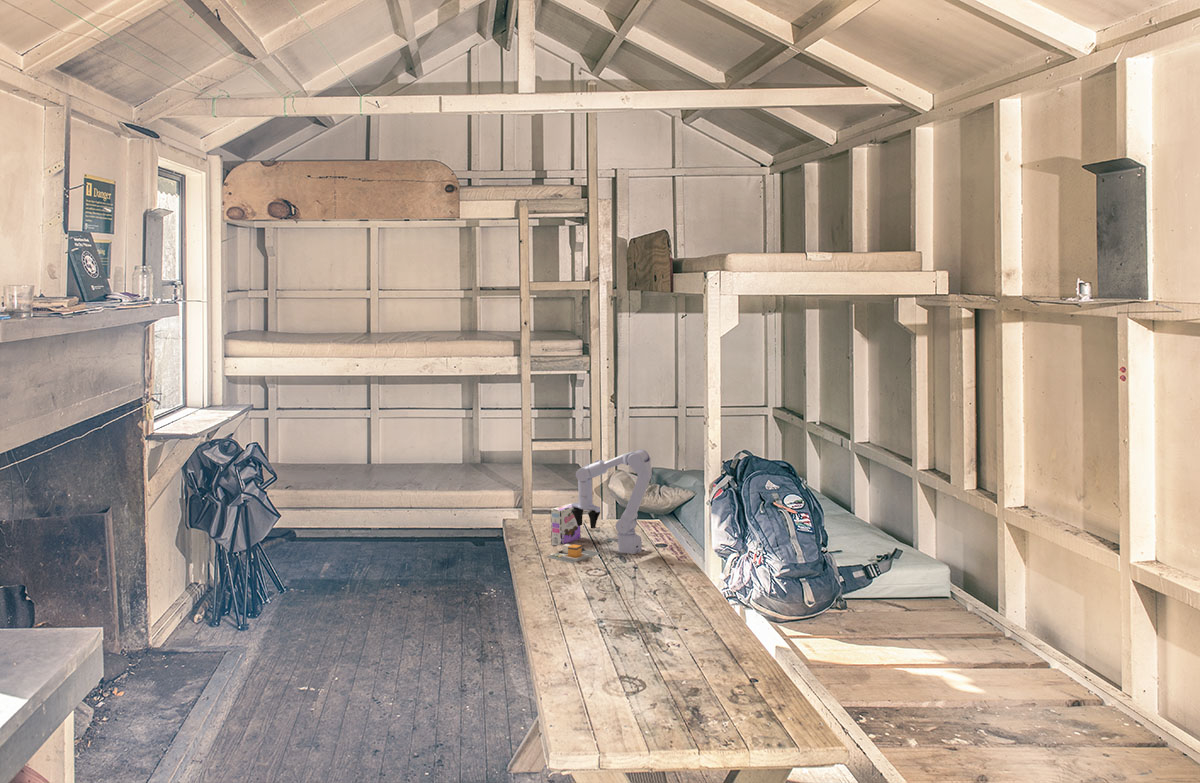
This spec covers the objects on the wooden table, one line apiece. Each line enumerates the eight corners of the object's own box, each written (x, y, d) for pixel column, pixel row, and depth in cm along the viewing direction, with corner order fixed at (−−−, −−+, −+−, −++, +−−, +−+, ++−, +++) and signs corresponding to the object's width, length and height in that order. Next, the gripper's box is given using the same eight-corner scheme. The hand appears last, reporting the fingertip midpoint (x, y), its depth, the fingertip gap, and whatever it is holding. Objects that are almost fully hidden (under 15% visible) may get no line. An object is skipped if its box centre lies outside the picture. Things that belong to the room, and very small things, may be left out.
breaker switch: (572, 552, 388) (572, 545, 387) (568, 553, 386) (568, 546, 386) (566, 550, 390) (566, 543, 390) (562, 552, 388) (562, 545, 388)
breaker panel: (602, 556, 386) (602, 550, 386) (572, 566, 372) (572, 560, 372) (575, 550, 396) (574, 544, 396) (545, 560, 383) (544, 554, 382)
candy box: (561, 547, 402) (560, 510, 400) (551, 546, 405) (549, 508, 404) (581, 540, 413) (580, 504, 411) (570, 539, 416) (569, 502, 415)
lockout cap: (581, 557, 380) (581, 545, 380) (577, 559, 377) (576, 547, 376) (573, 556, 382) (572, 544, 382) (568, 558, 379) (567, 546, 378)
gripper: (604, 495, 391) (605, 527, 393) (579, 491, 401) (580, 522, 402) (593, 498, 386) (594, 530, 387) (567, 494, 396) (569, 525, 397)
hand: (586, 526), depth 395 cm, fingers open, 7 cm apart
